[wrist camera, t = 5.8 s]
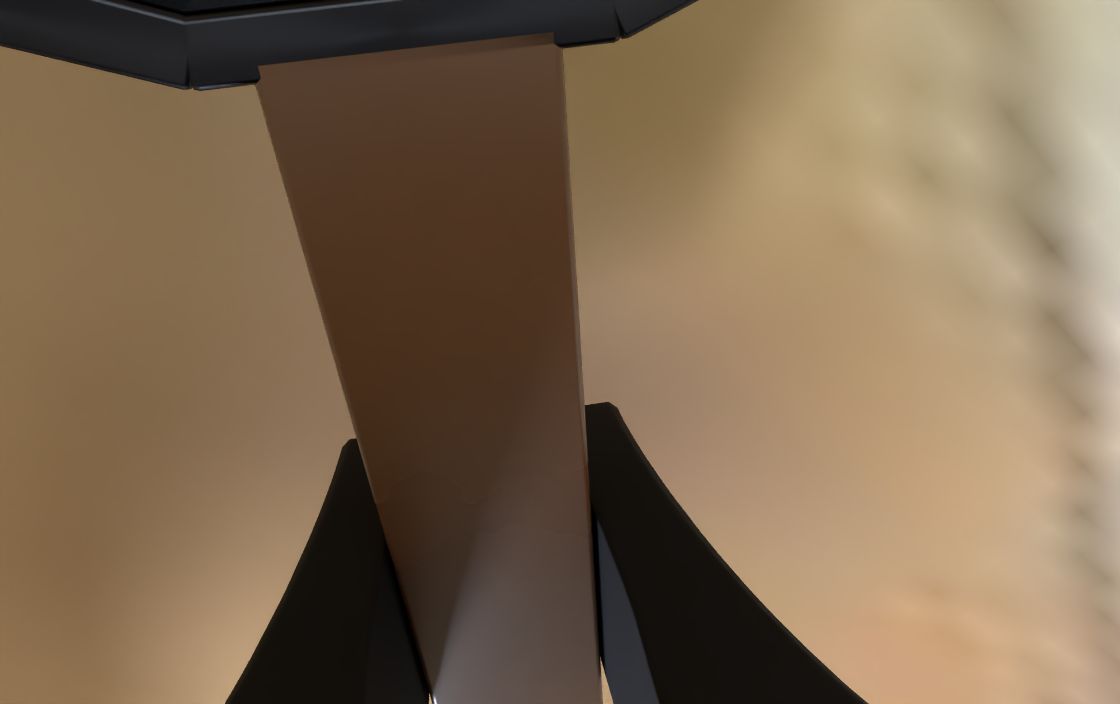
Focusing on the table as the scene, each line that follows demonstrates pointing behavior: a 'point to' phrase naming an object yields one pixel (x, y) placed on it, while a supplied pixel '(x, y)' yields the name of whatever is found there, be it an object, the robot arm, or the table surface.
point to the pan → (425, 283)
